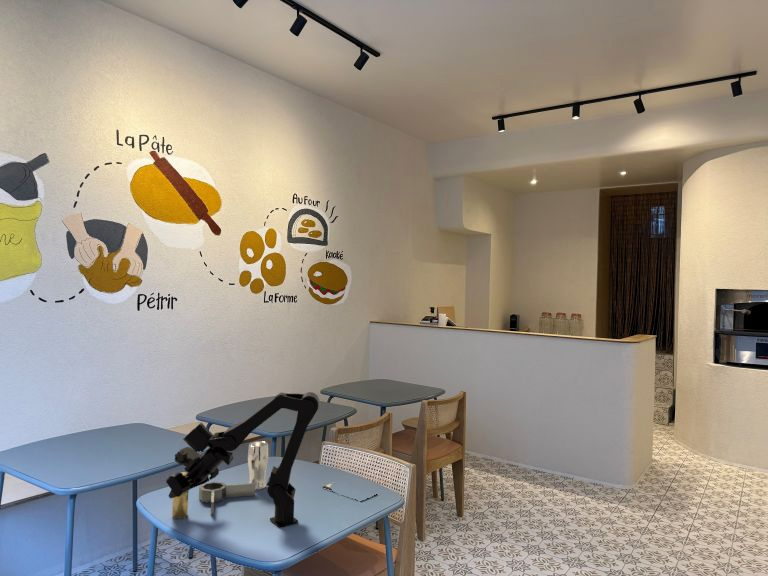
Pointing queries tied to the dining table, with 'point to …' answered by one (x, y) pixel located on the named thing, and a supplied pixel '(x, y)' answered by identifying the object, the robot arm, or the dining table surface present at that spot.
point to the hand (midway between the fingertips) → (176, 493)
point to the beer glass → (258, 463)
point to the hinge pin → (180, 504)
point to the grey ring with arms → (223, 492)
